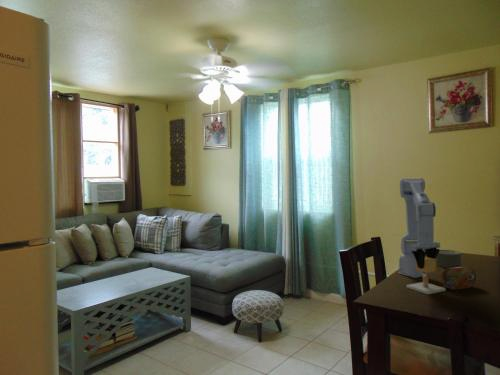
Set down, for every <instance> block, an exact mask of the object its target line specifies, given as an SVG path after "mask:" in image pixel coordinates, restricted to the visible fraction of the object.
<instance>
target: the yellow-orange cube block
mask: <svg viewBox="0 0 500 375" xmlns="http://www.w3.org/2000/svg"><path fill="white" fill-rule="evenodd" d="M436 268H437V266H436V259H434V258H430V257H427V256H425V260H424V268H423V269H422V268H418V265H417V262H416V270H418V271H421V272H422V273H424V274H425V273H426V274H429V273H435V272H437V271H436V270H437V269H436Z"/></svg>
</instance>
